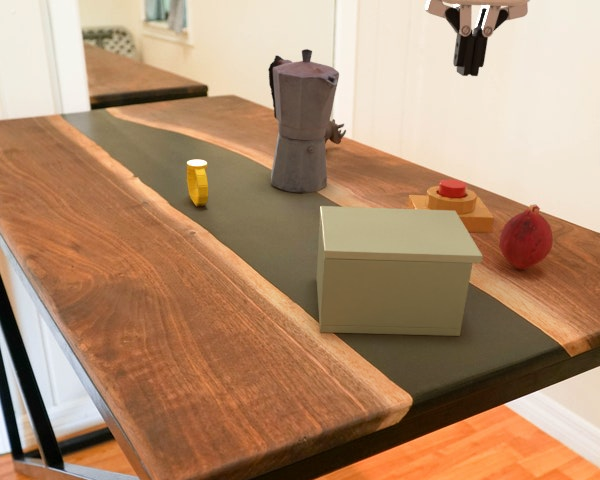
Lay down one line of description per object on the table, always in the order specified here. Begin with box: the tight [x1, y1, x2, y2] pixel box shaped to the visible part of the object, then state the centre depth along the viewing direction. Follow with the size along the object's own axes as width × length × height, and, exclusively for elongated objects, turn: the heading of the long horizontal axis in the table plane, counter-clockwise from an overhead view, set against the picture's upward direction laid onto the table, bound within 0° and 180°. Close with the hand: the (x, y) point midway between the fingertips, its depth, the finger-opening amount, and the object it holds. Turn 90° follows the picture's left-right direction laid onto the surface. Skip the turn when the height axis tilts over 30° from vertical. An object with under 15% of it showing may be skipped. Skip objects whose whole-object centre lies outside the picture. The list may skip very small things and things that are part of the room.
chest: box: [316, 217, 473, 337], centre depth 67 cm, size 14×12×8 cm
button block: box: [407, 185, 495, 233], centre depth 90 cm, size 10×8×4 cm
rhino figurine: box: [324, 118, 347, 145], centre depth 117 cm, size 4×14×6 cm, turn 129°
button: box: [438, 179, 468, 199], centre depth 89 cm, size 4×4×2 cm
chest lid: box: [319, 205, 483, 264], centre depth 65 cm, size 14×12×1 cm
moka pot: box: [267, 48, 340, 194], centre depth 98 cm, size 10×15×20 cm, turn 42°
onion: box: [499, 204, 554, 271], centre depth 76 cm, size 6×6×8 cm
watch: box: [186, 159, 209, 207], centre depth 92 cm, size 6×3×6 cm, turn 24°
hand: (466, 73), depth 73 cm, fingers closed
